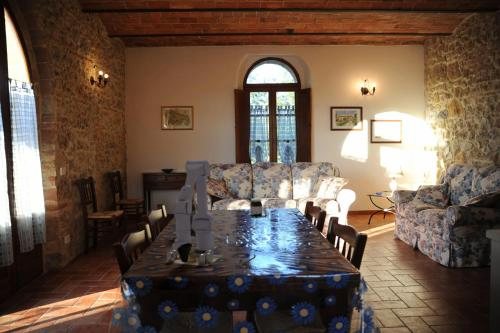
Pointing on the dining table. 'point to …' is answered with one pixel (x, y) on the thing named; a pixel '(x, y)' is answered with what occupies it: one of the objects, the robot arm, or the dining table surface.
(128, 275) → the dining table surface
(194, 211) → the olive oil
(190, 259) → the nut
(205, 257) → the grey piece
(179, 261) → the board
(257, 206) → the spread jar
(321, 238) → the dining table surface
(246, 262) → the pliers
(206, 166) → the robot arm
